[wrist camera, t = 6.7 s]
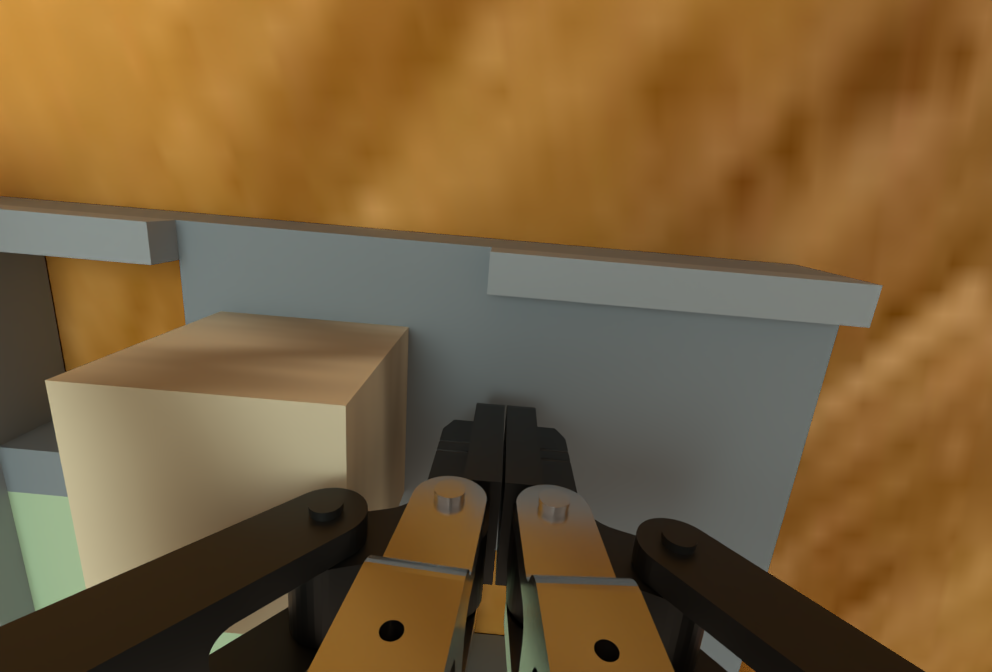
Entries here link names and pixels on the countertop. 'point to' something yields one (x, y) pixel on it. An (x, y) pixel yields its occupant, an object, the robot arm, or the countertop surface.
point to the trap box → (463, 363)
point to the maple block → (226, 432)
